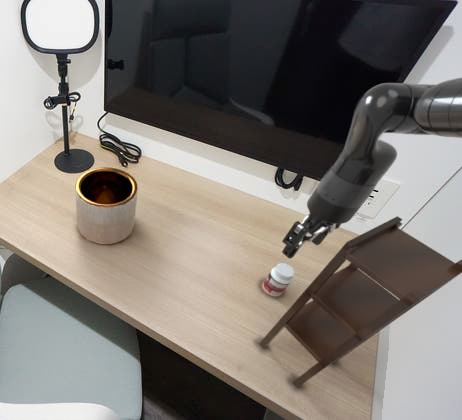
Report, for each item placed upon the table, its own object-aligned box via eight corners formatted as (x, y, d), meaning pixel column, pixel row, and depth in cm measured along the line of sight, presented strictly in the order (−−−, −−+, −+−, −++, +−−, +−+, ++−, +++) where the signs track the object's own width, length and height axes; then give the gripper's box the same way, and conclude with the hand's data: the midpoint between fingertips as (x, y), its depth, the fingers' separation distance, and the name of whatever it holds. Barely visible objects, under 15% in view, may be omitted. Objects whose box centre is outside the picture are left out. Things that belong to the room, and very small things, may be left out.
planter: (143, 217, 100) (149, 178, 89) (116, 255, 89) (119, 216, 78) (95, 198, 107) (95, 160, 96) (65, 231, 96) (61, 192, 85)
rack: (336, 361, 68) (476, 262, 43) (296, 388, 64) (424, 296, 39) (296, 321, 74) (397, 216, 49) (258, 343, 71) (346, 241, 46)
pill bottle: (267, 277, 83) (280, 258, 77) (285, 289, 80) (300, 270, 74) (258, 287, 81) (270, 268, 75) (276, 300, 78) (290, 281, 72)
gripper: (333, 217, 53) (292, 273, 65) (385, 193, 58) (338, 249, 69) (295, 192, 58) (263, 247, 70) (346, 171, 63) (308, 227, 74)
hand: (300, 248), depth 69 cm, fingers open, 8 cm apart
